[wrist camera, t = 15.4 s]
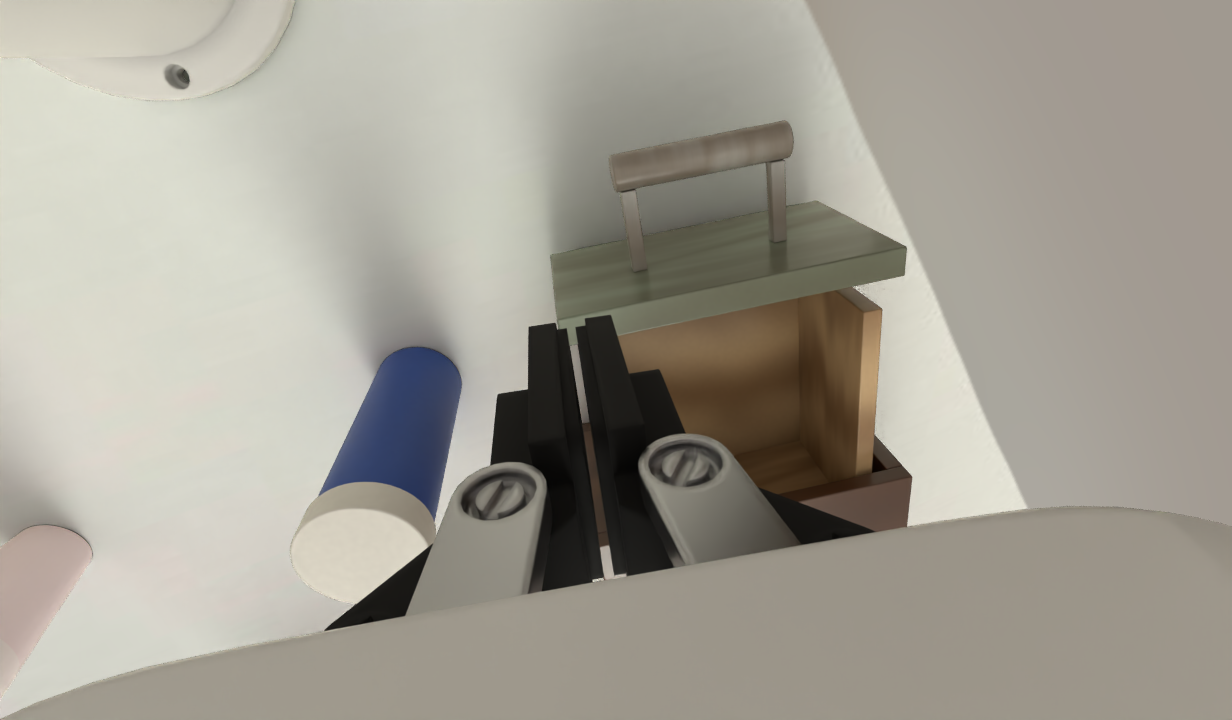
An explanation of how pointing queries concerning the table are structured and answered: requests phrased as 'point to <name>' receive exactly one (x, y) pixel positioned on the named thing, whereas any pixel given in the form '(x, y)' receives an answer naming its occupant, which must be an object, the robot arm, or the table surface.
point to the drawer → (745, 312)
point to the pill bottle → (382, 480)
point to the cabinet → (811, 497)
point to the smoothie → (34, 589)
